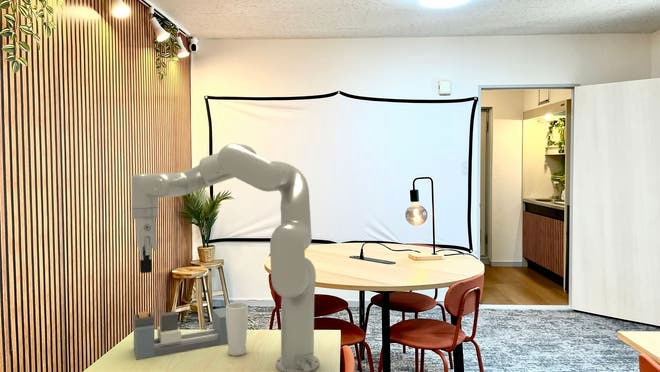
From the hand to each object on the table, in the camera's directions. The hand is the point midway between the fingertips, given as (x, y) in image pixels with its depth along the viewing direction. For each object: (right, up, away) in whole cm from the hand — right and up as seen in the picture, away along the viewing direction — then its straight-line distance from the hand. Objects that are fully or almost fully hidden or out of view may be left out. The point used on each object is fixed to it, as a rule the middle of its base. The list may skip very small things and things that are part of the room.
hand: (145, 272), depth 140 cm
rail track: (+10, -25, +6) cm, 28 cm away
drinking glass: (+28, -25, 0) cm, 38 cm away
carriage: (+6, -22, +4) cm, 23 cm away
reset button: (-1, -16, 0) cm, 16 cm away
